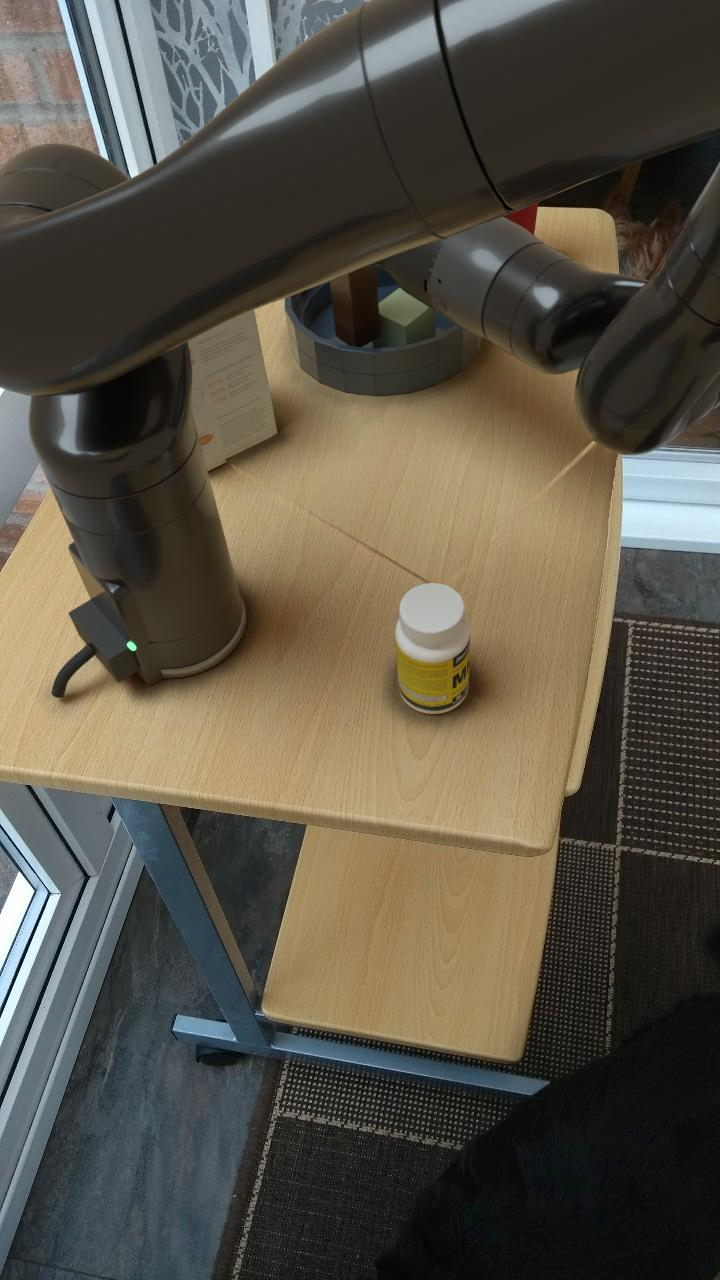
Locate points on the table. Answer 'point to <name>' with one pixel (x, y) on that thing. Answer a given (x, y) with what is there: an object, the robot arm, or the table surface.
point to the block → (404, 321)
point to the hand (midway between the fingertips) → (321, 179)
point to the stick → (356, 307)
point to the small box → (230, 390)
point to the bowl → (367, 365)
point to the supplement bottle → (432, 648)
